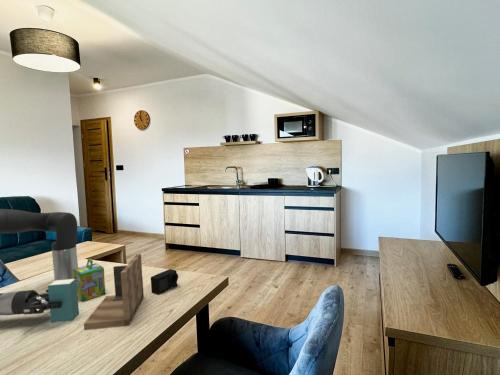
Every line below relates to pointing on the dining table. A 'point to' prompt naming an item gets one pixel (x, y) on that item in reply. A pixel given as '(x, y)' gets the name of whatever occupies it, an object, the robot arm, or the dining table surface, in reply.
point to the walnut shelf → (120, 298)
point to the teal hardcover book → (64, 300)
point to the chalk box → (89, 281)
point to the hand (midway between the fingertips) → (68, 298)
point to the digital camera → (164, 281)
